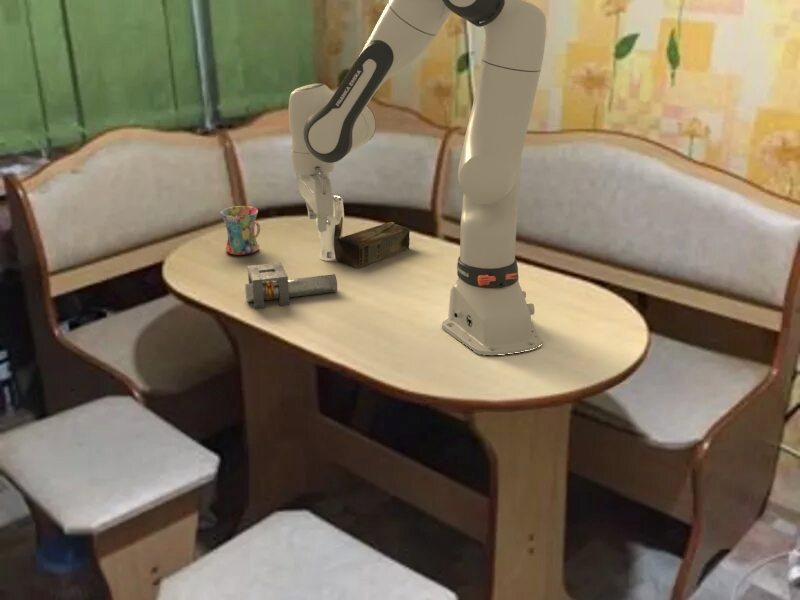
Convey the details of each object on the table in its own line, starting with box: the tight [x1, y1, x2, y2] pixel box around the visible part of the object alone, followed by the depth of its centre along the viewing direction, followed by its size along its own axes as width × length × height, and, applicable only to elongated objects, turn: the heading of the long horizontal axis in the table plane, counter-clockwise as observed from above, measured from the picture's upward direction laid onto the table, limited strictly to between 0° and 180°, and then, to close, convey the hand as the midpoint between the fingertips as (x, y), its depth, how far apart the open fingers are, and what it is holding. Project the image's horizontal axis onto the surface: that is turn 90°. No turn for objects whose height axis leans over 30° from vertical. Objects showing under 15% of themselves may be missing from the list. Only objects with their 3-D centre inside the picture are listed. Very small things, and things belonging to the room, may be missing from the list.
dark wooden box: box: [336, 221, 411, 269], centre depth 221 cm, size 8×19×7 cm, turn 138°
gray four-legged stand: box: [247, 262, 290, 310], centre depth 195 cm, size 9×8×7 cm
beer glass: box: [315, 195, 345, 262], centre depth 218 cm, size 7×7×15 cm
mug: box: [219, 205, 261, 256], centre depth 222 cm, size 12×9×11 cm
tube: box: [244, 273, 338, 303], centre depth 197 cm, size 20×4×4 cm, turn 107°
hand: (317, 224), depth 193 cm, fingers open, 8 cm apart
